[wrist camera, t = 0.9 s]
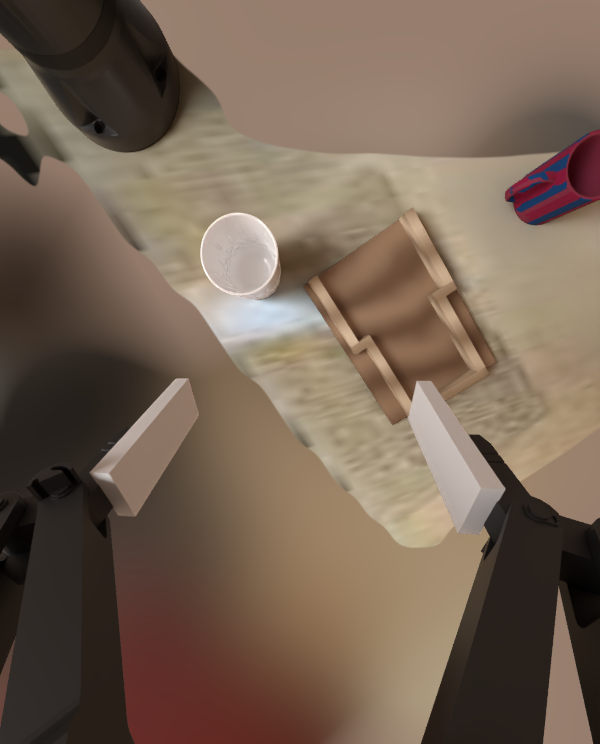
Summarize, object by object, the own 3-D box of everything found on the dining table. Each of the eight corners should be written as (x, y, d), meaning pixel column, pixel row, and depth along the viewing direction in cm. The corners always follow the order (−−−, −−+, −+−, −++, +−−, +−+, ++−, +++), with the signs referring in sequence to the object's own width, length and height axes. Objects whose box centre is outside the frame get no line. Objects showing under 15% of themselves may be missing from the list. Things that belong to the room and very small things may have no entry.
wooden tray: (303, 287, 36) (303, 284, 33) (409, 212, 34) (418, 203, 32) (391, 423, 39) (397, 429, 37) (492, 361, 37) (506, 363, 35)
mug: (560, 224, 34) (623, 199, 28) (485, 226, 34) (529, 202, 28) (568, 168, 33) (635, 127, 26) (490, 171, 33) (537, 131, 27)
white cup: (219, 258, 35) (186, 232, 26) (271, 235, 35) (258, 198, 25) (242, 313, 37) (220, 307, 27) (293, 290, 36) (290, 277, 26)
